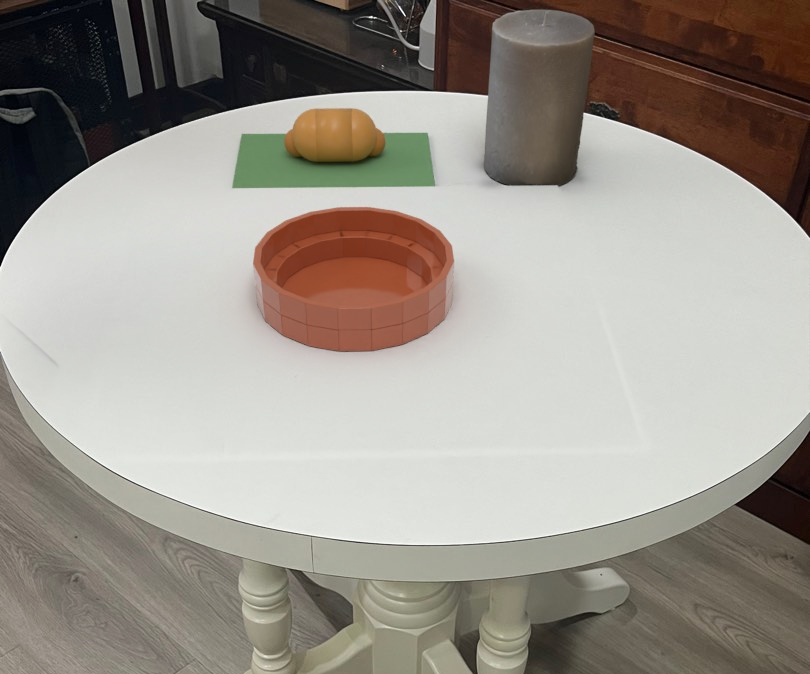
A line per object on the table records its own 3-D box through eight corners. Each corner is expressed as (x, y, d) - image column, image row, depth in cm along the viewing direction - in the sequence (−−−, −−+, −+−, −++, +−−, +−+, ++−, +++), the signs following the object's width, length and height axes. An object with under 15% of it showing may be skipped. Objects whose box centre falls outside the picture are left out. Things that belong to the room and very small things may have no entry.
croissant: (283, 170, 100) (279, 121, 97) (285, 149, 104) (282, 100, 100) (386, 169, 101) (386, 120, 97) (385, 148, 104) (385, 100, 101)
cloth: (232, 193, 98) (231, 189, 97) (242, 137, 107) (241, 133, 107) (435, 191, 98) (435, 187, 98) (427, 136, 108) (427, 132, 107)
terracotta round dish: (252, 359, 78) (246, 309, 75) (264, 254, 89) (260, 207, 86) (458, 356, 79) (461, 306, 75) (444, 252, 90) (446, 205, 87)
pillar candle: (596, 170, 102) (620, 12, 91) (531, 199, 97) (549, 37, 87) (526, 139, 107) (541, -14, 96) (462, 166, 102) (470, 8, 92)
